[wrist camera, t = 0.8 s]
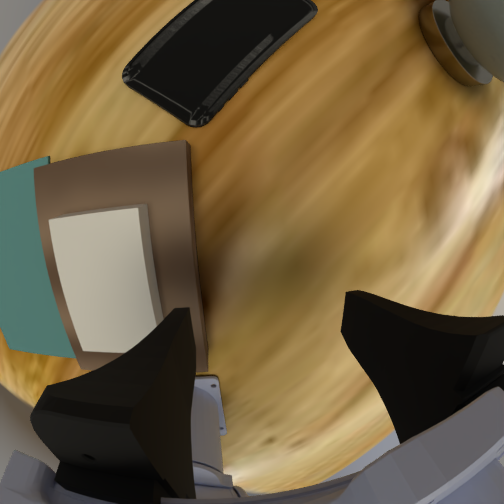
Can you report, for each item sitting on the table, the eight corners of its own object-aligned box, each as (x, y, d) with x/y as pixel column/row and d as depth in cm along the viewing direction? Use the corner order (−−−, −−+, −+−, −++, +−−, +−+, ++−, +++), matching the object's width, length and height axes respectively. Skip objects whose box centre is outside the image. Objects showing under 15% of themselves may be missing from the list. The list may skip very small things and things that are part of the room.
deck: (208, 348, 22) (208, 371, 19) (92, 349, 20) (81, 369, 17) (190, 145, 17) (185, 140, 14) (54, 167, 16) (33, 168, 13)
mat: (91, 357, 20) (90, 359, 20) (11, 347, 19) (9, 348, 19) (49, 156, 15) (47, 156, 15) (-29, 184, 14) (-31, 185, 14)
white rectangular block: (167, 335, 17) (163, 352, 16) (92, 335, 17) (82, 350, 15) (147, 203, 15) (138, 207, 13) (64, 214, 14) (48, 219, 12)
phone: (115, 78, 14) (247, -36, 12) (120, 82, 15) (245, -29, 13) (200, 132, 16) (324, 9, 14) (201, 135, 17) (319, 15, 15)
